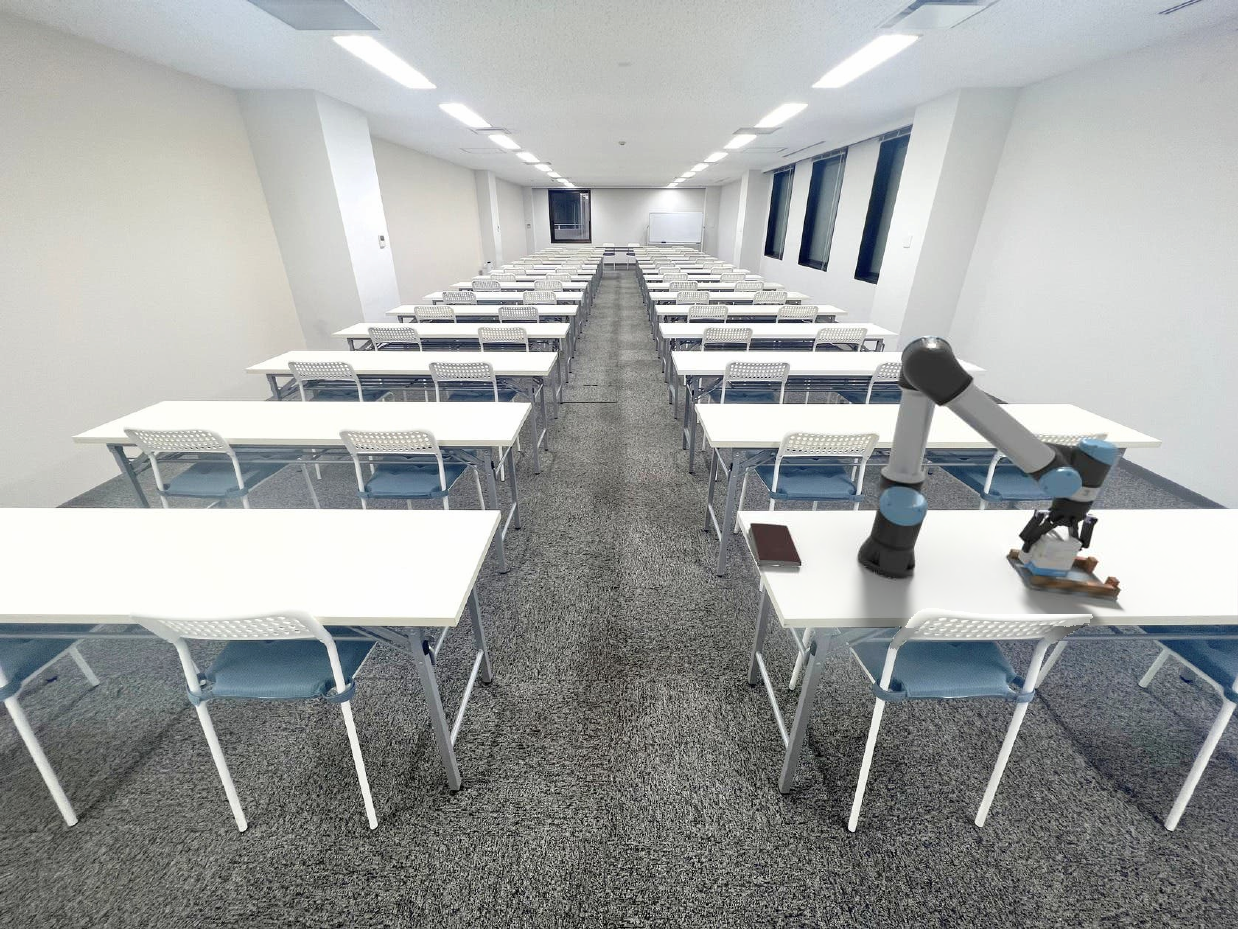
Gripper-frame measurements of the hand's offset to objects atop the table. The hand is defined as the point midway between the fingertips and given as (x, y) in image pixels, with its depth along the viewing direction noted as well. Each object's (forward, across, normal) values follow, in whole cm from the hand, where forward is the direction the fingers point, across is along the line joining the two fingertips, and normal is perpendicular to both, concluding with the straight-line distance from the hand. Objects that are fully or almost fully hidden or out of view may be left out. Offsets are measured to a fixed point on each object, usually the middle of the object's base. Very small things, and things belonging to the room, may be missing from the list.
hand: (1042, 563), depth 137 cm
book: (+4, -74, -4) cm, 75 cm away
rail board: (+4, +5, 0) cm, 7 cm away
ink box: (+2, 0, 0) cm, 2 cm away
